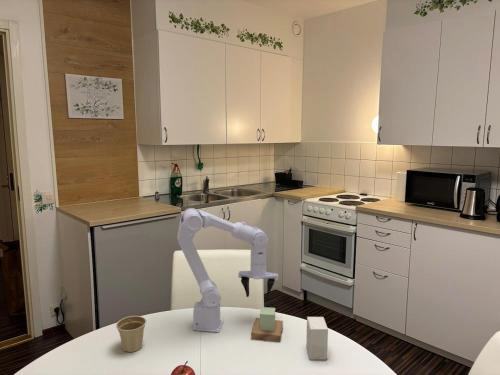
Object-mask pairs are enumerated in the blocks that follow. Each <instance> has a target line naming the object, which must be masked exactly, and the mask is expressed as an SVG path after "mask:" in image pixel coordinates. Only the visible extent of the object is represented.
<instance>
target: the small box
mask: <svg viewBox="0 0 500 375" xmlns="http://www.w3.org/2000/svg"><path fill="white" fill-rule="evenodd" d="M328 339H329V328H328V326H327V323H326V319H325V318H324V316H306V349H307V353H308V358H309V361H311V360H313V361H315V360H317V361H321V360H322V361H326V360H328V345H329V344H328V342H329V341H328Z"/></svg>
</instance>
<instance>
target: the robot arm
mask: <svg viewBox="0 0 500 375" xmlns="http://www.w3.org/2000/svg"><path fill="white" fill-rule="evenodd" d="M210 227H213V228H217V229H220V230H223V231H225V232H228V233H230V234H231V236H232V237H233V238H234V239H238V240H240V241H243V242H244V243H245V242H246V243H248V244H249V243H250V270H239V271H238V277H237V278H239V279H240V283H241V285H242V286H243V289H244V292H245V295H246V296H245V297H246V298H249V296H250V279H254V280H267V281H266V288H267V291H266V299H268V300H269V299H270V296H271V295H270V293H271V292H272V288H273V286H274V284H275V282H276V281H278V280H279V273H274V272H269V271H267V246H268V244H269V241H270V240H269V238H268V235H267V233H265V232H264V231H263V230H262V229H260V228H259V227H257V226H251V225H248V224H247V223H246V222H245V221H237V222H234V223H233V222H231V221H229V220H227V219H224V218H221V217H219V216H217V215H215V214H212V213H210V212H207V211H204V210H199V209H197V208H194V207H189V208H186V209H185V210H184V211H183V212H182V215H181V216H180V218H179V224H178V229H177V236H176V238H177V243H178V245H179V247H180V249H181V251H182V253H183V256H184V257H185V259H186V262H187V264H188V266H189V268H190V270H191V273H192V274H193V276H194V278H195V280H196V282H197V285H198V288H199V292H200V295H201V299H200V301H195V303H194V305H193V309H192V310H193V311H192V312H193V315H192V316H193V317H192V318H193V322H192V323H193V328H192V330H193V331H200V332H208V333H210V332H211V333H219V332H220V330H221V327H222V325H223V324H224V319H221V301H222V300H221V298H222V297H221V294H220V292H219V290H218V287H217V284H216V283H215V282H214V281H213V280H212V279H211V278H210V276H209V274H208V271H207V269H206V268H205V265H204V263H203V260H202V258H201V256H200V254H199V252H198V250H197V247H196V246H195V244H194V242H193V239H194V238H195V236H196V234H197V233H198V232H199V231H200V230H201V229H202V228H203V229H207V228H210Z"/></svg>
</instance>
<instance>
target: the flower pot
mask: <svg viewBox="0 0 500 375" xmlns="http://www.w3.org/2000/svg"><path fill="white" fill-rule="evenodd" d="M146 324H147V319H146V318H145V317H144V316H140V315H129V316H125V317H123V318H121V319H120V320H118V321H117V322H116V323H115V326H116V327H115V328H116V329H117V331H118V333H119V337H120V342H121V346H122V350H123V351H125V352H127V353H135V352H137V351H139V350H140V349H142V348H143V343H144V342H143V341H144V334H145V333H144V332H145V330H144V329H145V327H146Z"/></svg>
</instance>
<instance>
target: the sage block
mask: <svg viewBox="0 0 500 375" xmlns="http://www.w3.org/2000/svg"><path fill="white" fill-rule="evenodd" d="M259 319H260V330H265V331H274V328H275V320H276V308H275V307H266V306H261V307H260V313H259Z"/></svg>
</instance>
